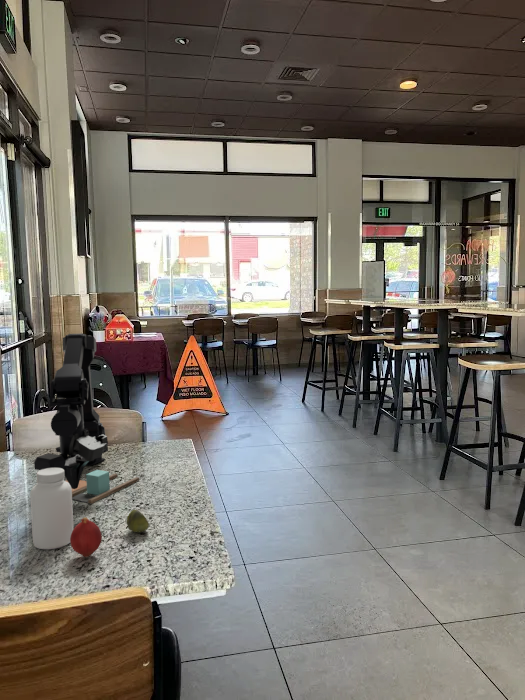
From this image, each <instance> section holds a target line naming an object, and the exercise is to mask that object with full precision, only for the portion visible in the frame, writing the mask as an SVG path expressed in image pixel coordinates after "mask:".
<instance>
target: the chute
mask: <svg viewBox="0 0 525 700" xmlns="http://www.w3.org/2000/svg"><path fill="white" fill-rule="evenodd" d="M118 476H119V475H118V473H113V474H109V481H112V480H114V479H116V478H118ZM139 481H140V477H137V476H136V477H133V478H131V479H130V480H127V481H125V482H122V483H120V484H118V485H116V486H115V487H113V488H110V490H108V491H106V492H104V493H102V494H100V495H94V494H88V493H85V492H87V486H85V487H83V488H81V489H79V490H76V491H74V492H72V501H77V502H82V503H87V504H94V503H97V502H98V501H100V500H103V499H104V498H106V497H108V496H110V495H112V494H115V493H116V492H118V491H121V490H123V489H124V488H127V487H129V486H130V485H133V484H135V483H137V482H139Z"/></svg>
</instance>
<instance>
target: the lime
mask: <svg viewBox="0 0 525 700" xmlns="http://www.w3.org/2000/svg"><path fill="white" fill-rule="evenodd" d="M126 525H127V528H128V530H129V531H131V532H133V533H143V532H146V531H147V530H149V527H150V524H149V520H148V518H147V517H146V516H145V515H144V514H143V513H142V512H141V511H140V510H139V509H132V510H131V511H130V512H129V514H128V515H127V518H126Z"/></svg>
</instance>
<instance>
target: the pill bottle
mask: <svg viewBox="0 0 525 700" xmlns="http://www.w3.org/2000/svg"><path fill="white" fill-rule="evenodd" d="M65 478H66V477H65V474H64V469H62V468H46V469H42V470H37V473H36V484H35V485H33V487H31V490H30V493H29V494H30V495H29V497H30V512H31V513H30V516H31V532H32V545H33V546H34V547H35V548H37V549H40V550H53V549H59V548H63V547H64V546H66V545H68V544H69V545H70V544H71V543H70V537H71V534H72V531H73V529H74V513H73V500H72V489H71V486H70V484H69V483H68V482H66V480H65Z"/></svg>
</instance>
